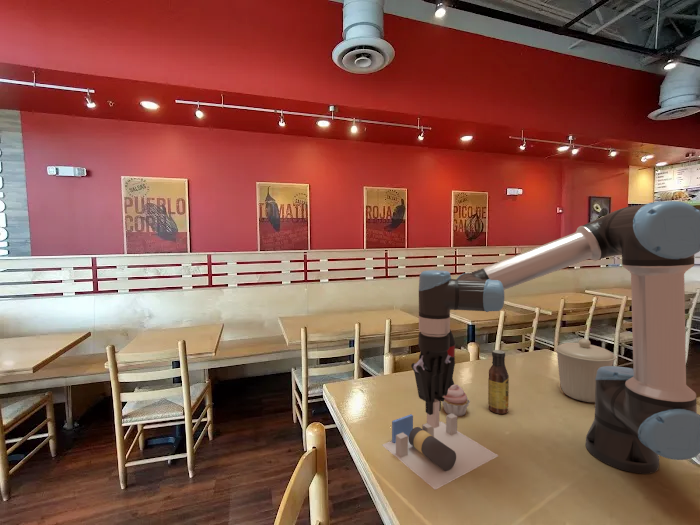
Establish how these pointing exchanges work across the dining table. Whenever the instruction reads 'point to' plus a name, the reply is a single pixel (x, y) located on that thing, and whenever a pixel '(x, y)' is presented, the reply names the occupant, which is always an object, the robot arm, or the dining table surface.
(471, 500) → the dining table surface
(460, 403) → the cupcake
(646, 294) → the robot arm
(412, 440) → the banded cylinder post
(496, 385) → the sauce bottle
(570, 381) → the canister
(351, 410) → the dining table surface
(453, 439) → the white base plate
